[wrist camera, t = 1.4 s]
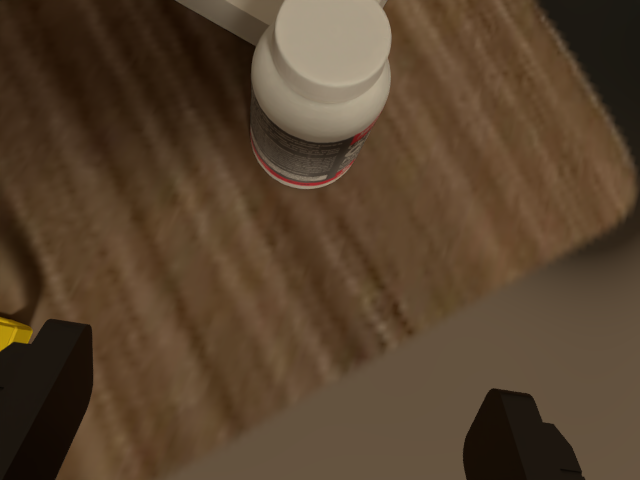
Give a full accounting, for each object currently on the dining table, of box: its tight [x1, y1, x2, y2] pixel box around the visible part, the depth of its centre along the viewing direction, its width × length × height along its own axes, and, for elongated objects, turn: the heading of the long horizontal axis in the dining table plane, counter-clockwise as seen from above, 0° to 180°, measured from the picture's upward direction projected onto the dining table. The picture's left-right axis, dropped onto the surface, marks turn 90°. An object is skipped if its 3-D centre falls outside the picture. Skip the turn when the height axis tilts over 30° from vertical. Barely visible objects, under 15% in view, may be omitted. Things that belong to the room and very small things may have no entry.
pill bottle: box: [250, 0, 391, 189], centre depth 24 cm, size 5×5×10 cm
